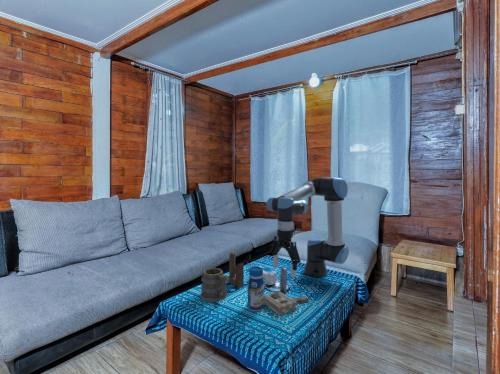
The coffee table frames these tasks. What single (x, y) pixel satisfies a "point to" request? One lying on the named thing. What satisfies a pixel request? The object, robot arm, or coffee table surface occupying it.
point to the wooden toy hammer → (235, 272)
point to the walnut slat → (301, 299)
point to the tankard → (213, 285)
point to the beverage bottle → (255, 289)
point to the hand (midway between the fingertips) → (284, 271)
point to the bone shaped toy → (269, 277)
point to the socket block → (279, 302)
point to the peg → (283, 280)
